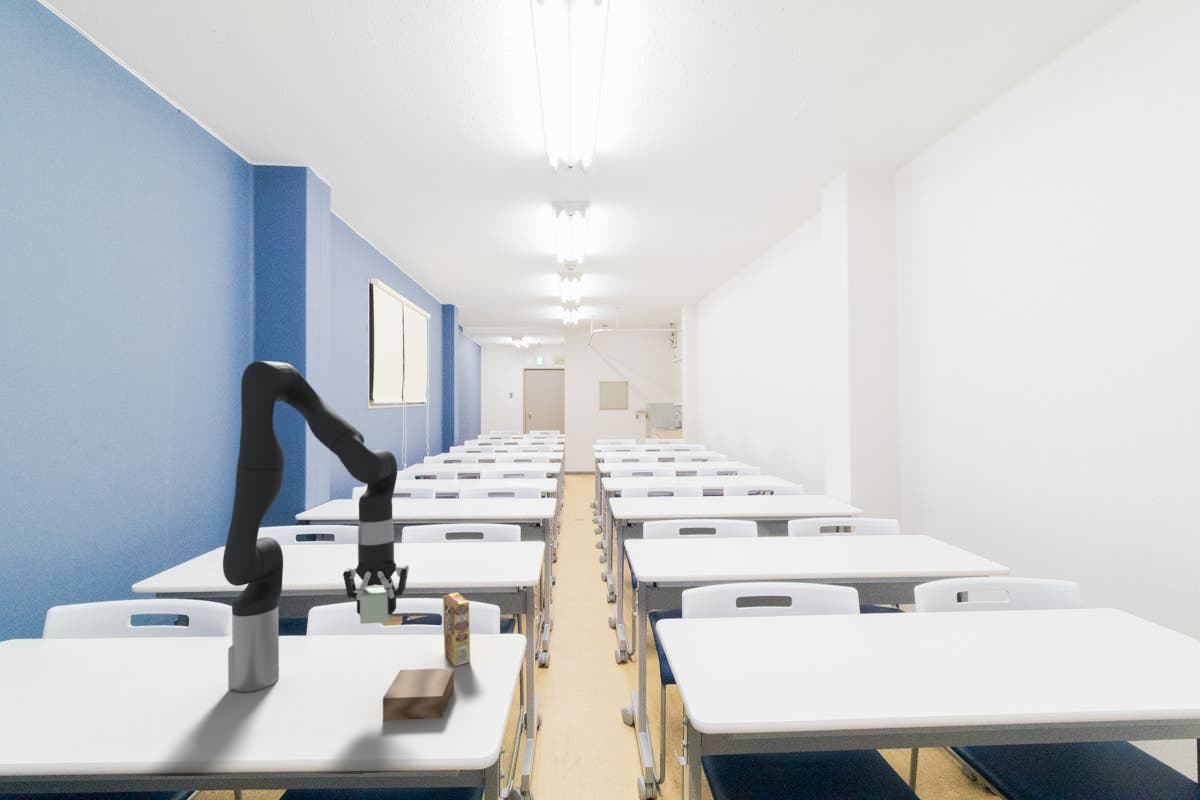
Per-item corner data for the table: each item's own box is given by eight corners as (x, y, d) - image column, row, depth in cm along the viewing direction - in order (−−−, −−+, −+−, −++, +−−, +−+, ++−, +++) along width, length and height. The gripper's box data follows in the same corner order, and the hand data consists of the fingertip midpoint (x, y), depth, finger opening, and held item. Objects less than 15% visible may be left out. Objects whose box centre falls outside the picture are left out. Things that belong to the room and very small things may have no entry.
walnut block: (382, 722, 115) (382, 698, 115) (400, 691, 127) (400, 669, 127) (442, 720, 115) (442, 696, 115) (454, 690, 127) (453, 668, 127)
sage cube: (360, 623, 123) (360, 596, 123) (367, 614, 128) (367, 588, 128) (386, 622, 123) (386, 595, 123) (392, 612, 129) (392, 586, 129)
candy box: (470, 662, 140) (470, 601, 140) (454, 667, 137) (453, 605, 137) (458, 649, 147) (458, 591, 147) (442, 654, 145) (442, 594, 145)
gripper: (336, 545, 121) (337, 623, 121) (405, 541, 123) (406, 618, 123) (347, 536, 129) (348, 610, 129) (412, 533, 130) (413, 606, 130)
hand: (377, 614), depth 126 cm, fingers closed on sage cube, 5 cm apart
